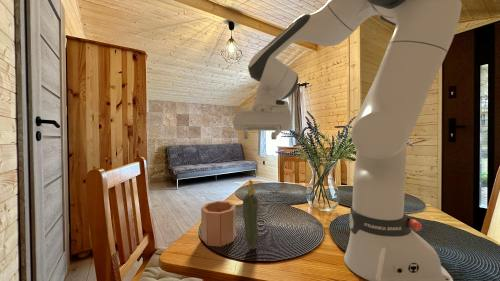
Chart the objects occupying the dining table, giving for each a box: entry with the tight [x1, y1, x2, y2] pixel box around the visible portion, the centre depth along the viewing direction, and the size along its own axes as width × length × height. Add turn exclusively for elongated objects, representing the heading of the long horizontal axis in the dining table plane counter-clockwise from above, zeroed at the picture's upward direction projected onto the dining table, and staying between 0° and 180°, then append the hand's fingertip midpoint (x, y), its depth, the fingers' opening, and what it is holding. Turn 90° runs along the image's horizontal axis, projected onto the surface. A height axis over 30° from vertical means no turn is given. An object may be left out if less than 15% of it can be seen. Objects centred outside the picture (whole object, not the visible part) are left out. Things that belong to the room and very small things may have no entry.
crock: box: [200, 200, 237, 248], centre depth 73 cm, size 10×10×10 cm
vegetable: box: [242, 179, 259, 249], centre depth 65 cm, size 4×4×20 cm
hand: (259, 138), depth 75 cm, fingers open, 8 cm apart
